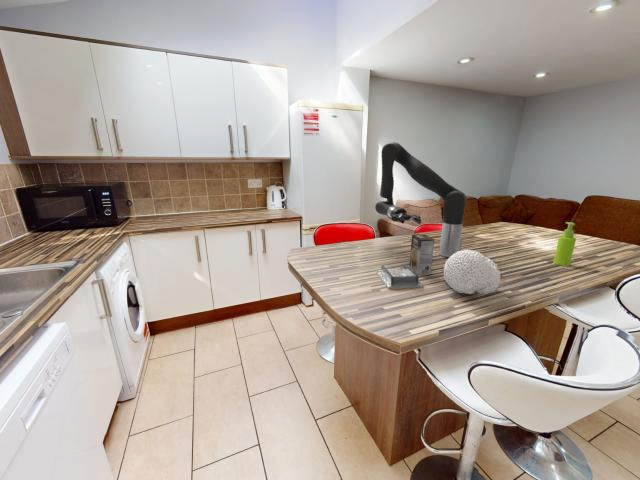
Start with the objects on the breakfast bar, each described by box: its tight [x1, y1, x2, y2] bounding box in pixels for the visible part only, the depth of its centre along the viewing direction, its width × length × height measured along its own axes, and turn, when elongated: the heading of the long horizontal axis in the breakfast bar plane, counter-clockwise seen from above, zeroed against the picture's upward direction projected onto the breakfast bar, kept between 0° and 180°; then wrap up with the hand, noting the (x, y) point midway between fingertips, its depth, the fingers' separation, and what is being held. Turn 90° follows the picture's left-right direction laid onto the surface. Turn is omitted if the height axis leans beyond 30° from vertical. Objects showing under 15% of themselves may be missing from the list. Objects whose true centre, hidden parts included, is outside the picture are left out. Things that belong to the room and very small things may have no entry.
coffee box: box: [408, 233, 436, 276], centre depth 120 cm, size 9×6×16 cm
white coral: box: [443, 249, 502, 296], centre depth 102 cm, size 20×18×16 cm
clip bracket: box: [375, 264, 424, 290], centre depth 113 cm, size 14×17×4 cm
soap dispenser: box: [553, 221, 577, 267], centre depth 127 cm, size 6×7×20 cm
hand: (412, 221), depth 130 cm, fingers open, 8 cm apart
